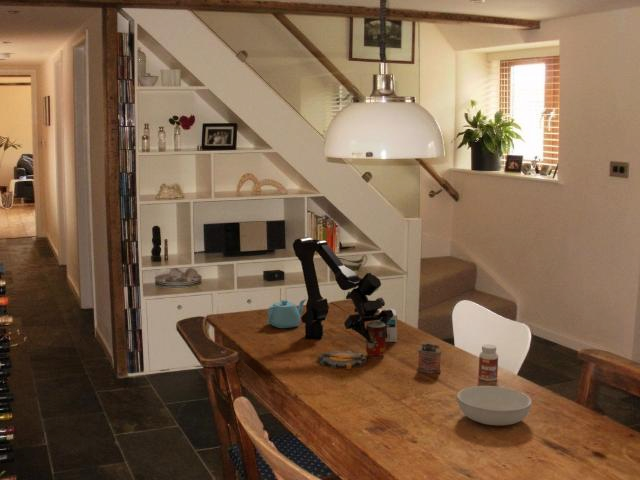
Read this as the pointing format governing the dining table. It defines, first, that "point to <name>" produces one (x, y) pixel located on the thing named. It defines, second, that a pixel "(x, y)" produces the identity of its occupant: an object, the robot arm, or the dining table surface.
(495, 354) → the pill bottle
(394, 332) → the light bulb box
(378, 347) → the soda can
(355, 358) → the sprocket plate
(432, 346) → the lighter
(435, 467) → the dining table surface
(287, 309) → the teapot
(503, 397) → the serving bowl
